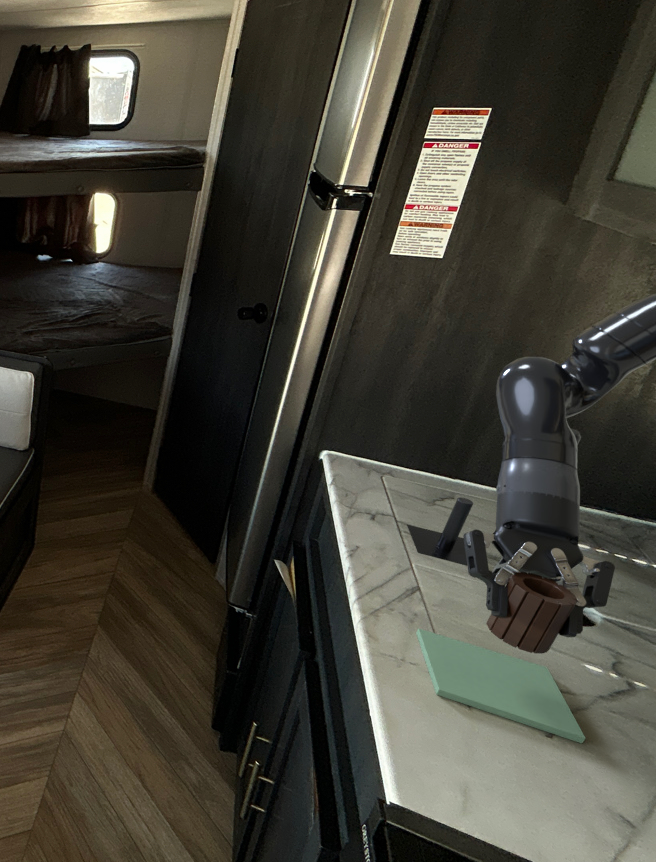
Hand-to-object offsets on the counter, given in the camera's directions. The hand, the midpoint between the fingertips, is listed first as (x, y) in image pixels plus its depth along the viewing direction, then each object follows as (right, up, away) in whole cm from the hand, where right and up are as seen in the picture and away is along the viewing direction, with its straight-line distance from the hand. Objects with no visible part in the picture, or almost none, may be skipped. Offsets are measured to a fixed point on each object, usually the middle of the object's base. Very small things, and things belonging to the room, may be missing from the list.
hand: (532, 625), depth 79 cm
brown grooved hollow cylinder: (+1, -2, +3) cm, 4 cm away
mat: (+1, -10, +6) cm, 12 cm away
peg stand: (+17, 0, +30) cm, 35 cm away
